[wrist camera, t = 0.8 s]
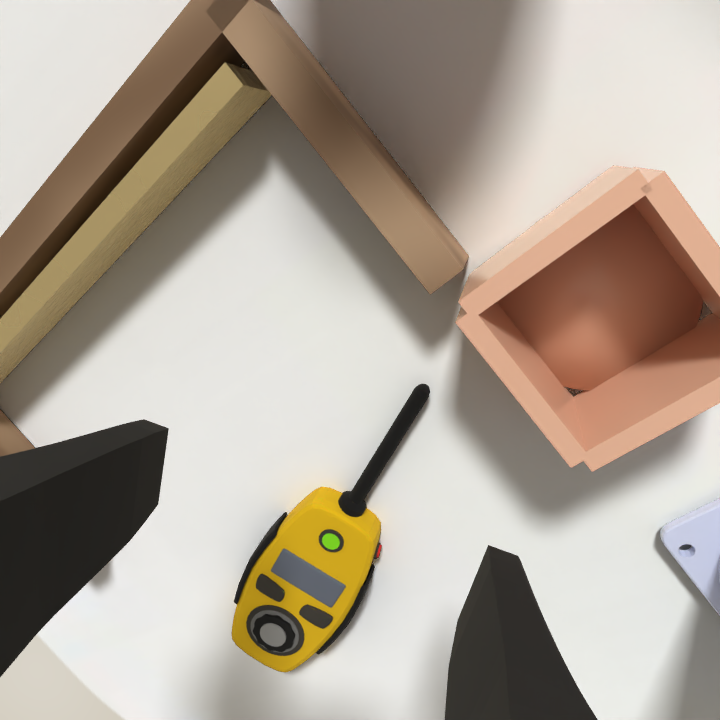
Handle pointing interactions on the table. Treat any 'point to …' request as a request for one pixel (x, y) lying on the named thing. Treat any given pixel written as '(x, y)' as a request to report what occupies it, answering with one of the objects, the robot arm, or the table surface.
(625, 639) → the table surface
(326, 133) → the wooden frame
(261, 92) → the tan wooden slat
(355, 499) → the yellow walkie talkie
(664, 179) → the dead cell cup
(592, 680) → the table surface
